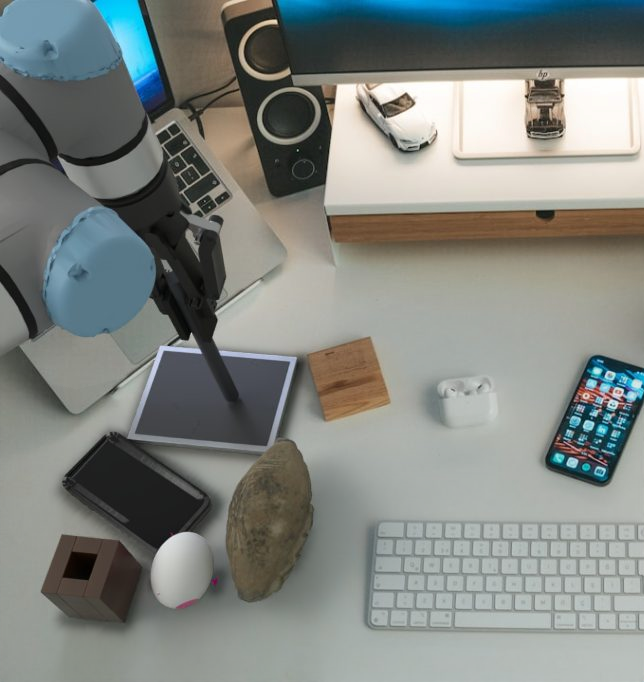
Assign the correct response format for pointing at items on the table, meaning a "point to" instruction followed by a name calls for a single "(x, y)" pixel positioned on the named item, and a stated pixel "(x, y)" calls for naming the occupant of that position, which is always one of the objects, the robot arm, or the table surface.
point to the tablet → (213, 402)
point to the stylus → (205, 344)
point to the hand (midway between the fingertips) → (199, 329)
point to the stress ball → (182, 570)
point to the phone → (136, 492)
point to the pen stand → (92, 578)
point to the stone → (269, 521)
